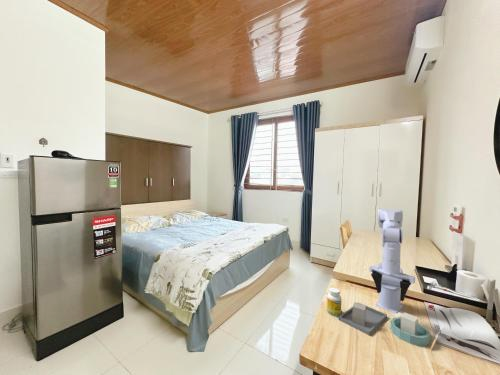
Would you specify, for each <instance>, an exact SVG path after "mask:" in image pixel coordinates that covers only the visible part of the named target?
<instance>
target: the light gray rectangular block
mask: <svg viewBox="0 0 500 375" xmlns="http://www.w3.org/2000/svg"><path fill="white" fill-rule="evenodd" d="M359 303H360V302H355V301H354V303H353V306H352V307H353V316H352V323H355V324H358V325H361V326H365V322H366V306H367V304H362V303H361V304H359Z"/></svg>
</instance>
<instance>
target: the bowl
mask: <svg viewBox="0 0 500 375" xmlns="http://www.w3.org/2000/svg"><path fill="white" fill-rule="evenodd" d="M390 331H391V333H392V334H393V335H394V336H396V337H397V338H398V339H400V340H401V341H404V342H406V343H408V344H410V345H414V346H419V347H423V346H424V347H425V346H429V344H430V342H431V332H430V331H429V330H428V328H427V327H425V326H424V325H422V324H421V323H419V322H418V335H417V336H416V335H412V334H409V333H406V332H404V331H402V330H401V316H400V317H393V318H392V319H391V320H390Z"/></svg>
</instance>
